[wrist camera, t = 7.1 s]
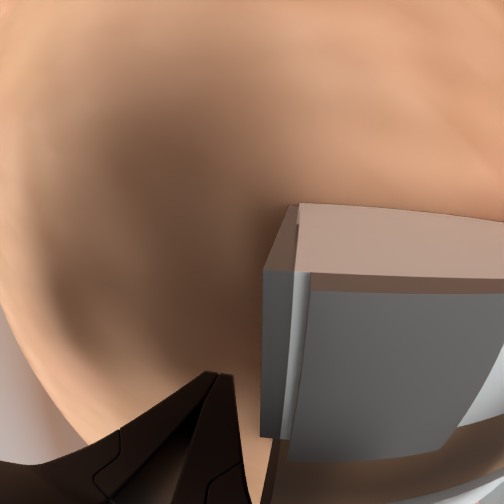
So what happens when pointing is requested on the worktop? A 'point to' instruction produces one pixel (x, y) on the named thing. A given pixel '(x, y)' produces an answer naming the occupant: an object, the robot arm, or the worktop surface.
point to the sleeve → (381, 337)
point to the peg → (393, 470)
